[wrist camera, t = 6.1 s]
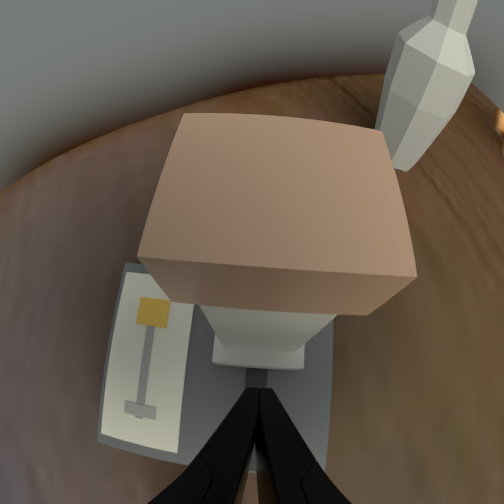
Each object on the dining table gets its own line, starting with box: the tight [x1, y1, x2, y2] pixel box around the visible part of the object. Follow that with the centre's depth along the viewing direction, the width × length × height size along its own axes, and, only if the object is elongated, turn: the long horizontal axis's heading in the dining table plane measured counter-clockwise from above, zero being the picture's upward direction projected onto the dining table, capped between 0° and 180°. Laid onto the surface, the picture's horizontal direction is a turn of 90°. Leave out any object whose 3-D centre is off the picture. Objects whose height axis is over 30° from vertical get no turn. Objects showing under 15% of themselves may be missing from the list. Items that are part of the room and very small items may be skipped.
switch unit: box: [97, 262, 333, 473], centre depth 14 cm, size 10×11×3 cm
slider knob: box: [137, 113, 417, 370], centre depth 9 cm, size 4×4×10 cm
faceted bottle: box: [374, 0, 478, 172], centre depth 14 cm, size 6×6×22 cm
